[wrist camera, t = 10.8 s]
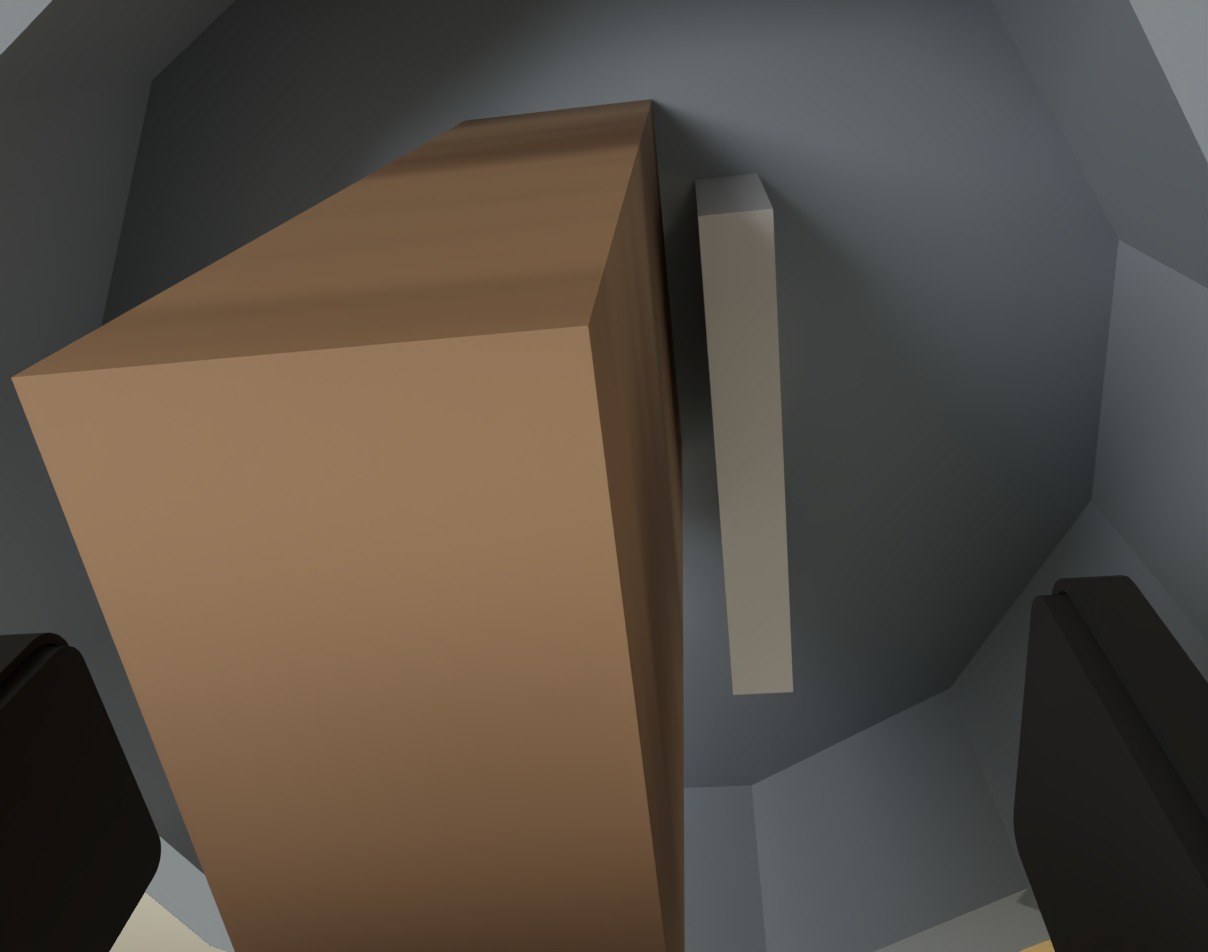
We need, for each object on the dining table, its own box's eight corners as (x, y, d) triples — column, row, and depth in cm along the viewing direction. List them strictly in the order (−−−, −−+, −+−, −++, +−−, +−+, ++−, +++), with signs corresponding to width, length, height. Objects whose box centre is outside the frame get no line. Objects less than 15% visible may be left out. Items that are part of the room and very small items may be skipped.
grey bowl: (-77, -134, 16) (-505, -208, 10) (1223, -336, 14) (1613, -576, 8) (249, 799, 25) (115, 1047, 19) (1090, 765, 22) (1234, 1036, 17)
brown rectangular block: (465, 121, 16) (11, 376, 5) (652, 99, 16) (589, 326, 5) (520, 459, 18) (295, 1110, 8) (682, 447, 18) (685, 1110, 7)
